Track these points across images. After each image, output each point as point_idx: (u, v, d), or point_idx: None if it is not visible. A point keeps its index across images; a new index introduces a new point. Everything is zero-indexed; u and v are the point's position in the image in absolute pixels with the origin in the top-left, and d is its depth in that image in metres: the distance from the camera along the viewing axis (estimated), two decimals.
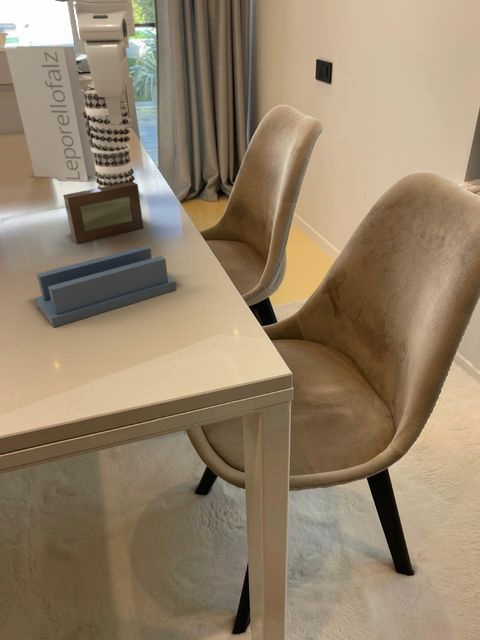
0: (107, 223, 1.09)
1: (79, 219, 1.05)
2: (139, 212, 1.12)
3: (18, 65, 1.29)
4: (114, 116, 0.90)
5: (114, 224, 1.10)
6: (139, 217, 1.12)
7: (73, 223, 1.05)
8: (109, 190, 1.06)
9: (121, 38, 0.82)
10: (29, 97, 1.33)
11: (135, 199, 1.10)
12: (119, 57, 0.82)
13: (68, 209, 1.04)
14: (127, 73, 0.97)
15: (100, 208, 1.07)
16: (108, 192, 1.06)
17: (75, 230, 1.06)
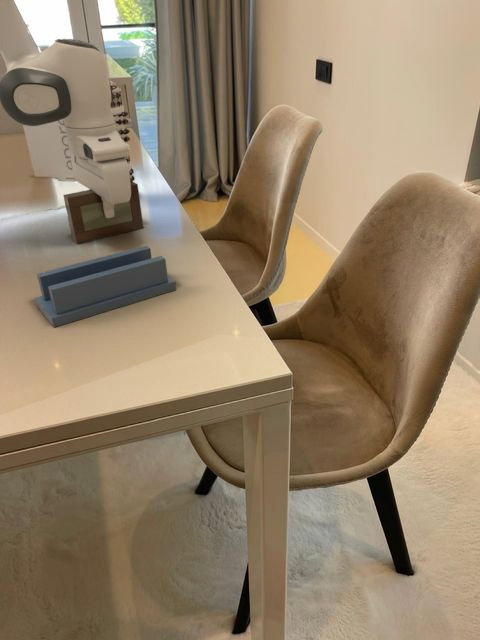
0: (107, 223, 1.09)
1: (79, 219, 1.05)
2: (139, 212, 1.12)
3: None
4: (109, 211, 1.07)
5: (114, 224, 1.10)
6: (139, 217, 1.12)
7: (73, 223, 1.05)
8: None
9: (128, 155, 0.98)
10: None
11: (135, 199, 1.10)
12: (128, 170, 0.99)
13: (68, 209, 1.04)
14: None
15: (100, 208, 1.07)
16: None
17: (75, 230, 1.06)
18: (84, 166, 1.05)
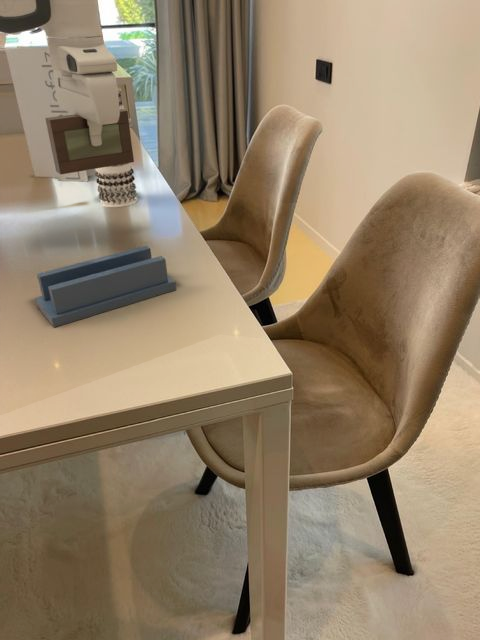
0: (94, 153, 1.00)
1: (63, 146, 0.96)
2: (129, 143, 1.03)
3: (18, 65, 1.29)
4: (95, 138, 0.97)
5: (102, 155, 1.01)
6: (129, 149, 1.03)
7: (56, 150, 0.96)
8: None
9: (116, 69, 0.89)
10: (29, 97, 1.33)
11: (125, 128, 1.01)
12: (117, 87, 0.89)
13: (51, 134, 0.95)
14: None
15: (86, 135, 0.98)
16: None
17: (58, 158, 0.96)
18: (68, 88, 0.96)
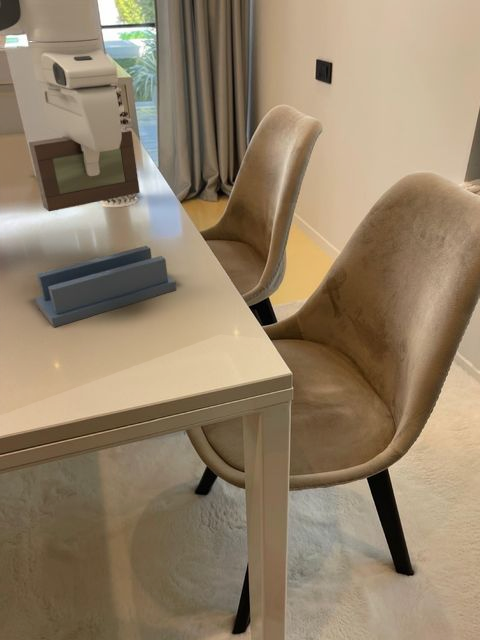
0: (90, 184, 0.81)
1: (51, 176, 0.77)
2: (133, 170, 0.83)
3: (18, 65, 1.29)
4: (92, 167, 0.78)
5: (100, 186, 0.81)
6: (134, 177, 0.84)
7: (43, 182, 0.77)
8: None
9: (116, 82, 0.70)
10: (29, 97, 1.33)
11: (128, 152, 0.82)
12: (117, 104, 0.70)
13: (36, 162, 0.76)
14: None
15: (80, 163, 0.78)
16: None
17: (46, 192, 0.77)
18: (57, 104, 0.77)
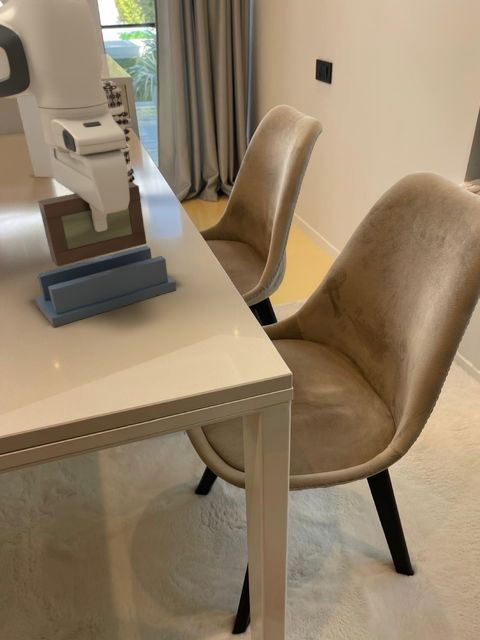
0: (98, 238, 0.82)
1: (60, 233, 0.78)
2: (140, 223, 0.85)
3: None
4: (100, 223, 0.79)
5: (107, 239, 0.83)
6: (141, 229, 0.85)
7: (52, 239, 0.78)
8: None
9: (125, 146, 0.71)
10: (29, 97, 1.33)
11: (135, 206, 0.83)
12: None
13: (45, 220, 0.77)
14: None
15: (88, 219, 0.80)
16: None
17: (55, 248, 0.79)
18: (66, 162, 0.78)
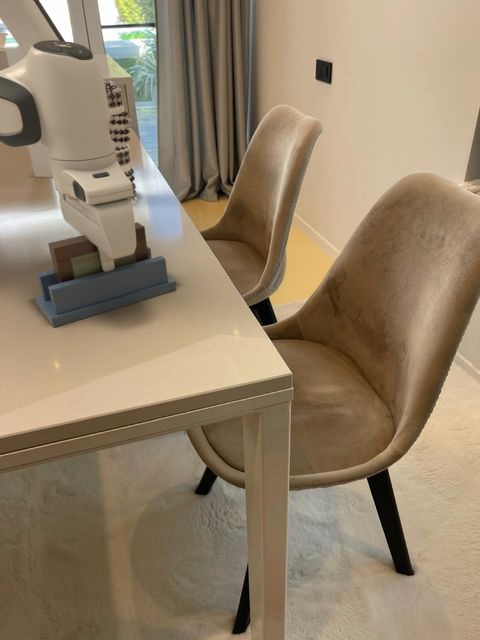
0: None
1: (69, 274, 0.81)
2: None
3: None
4: (107, 264, 0.83)
5: None
6: None
7: (61, 279, 0.81)
8: None
9: (132, 195, 0.74)
10: None
11: (141, 245, 0.86)
12: None
13: (54, 262, 0.80)
14: None
15: (96, 259, 0.83)
16: None
17: None
18: (75, 206, 0.82)
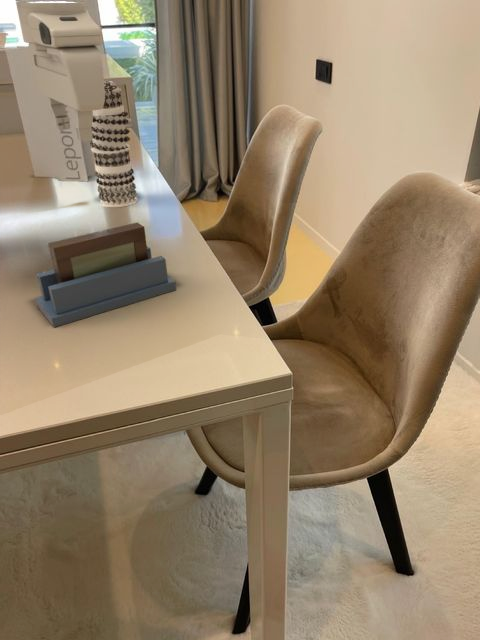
0: None
1: (69, 274, 0.81)
2: None
3: (18, 65, 1.29)
4: (85, 132, 0.78)
5: None
6: None
7: (61, 279, 0.81)
8: (108, 236, 0.82)
9: (100, 43, 0.72)
10: (29, 97, 1.33)
11: (141, 245, 0.86)
12: (101, 65, 0.72)
13: (54, 261, 0.80)
14: None
15: (96, 259, 0.83)
16: (106, 239, 0.82)
17: None
18: (45, 66, 0.79)
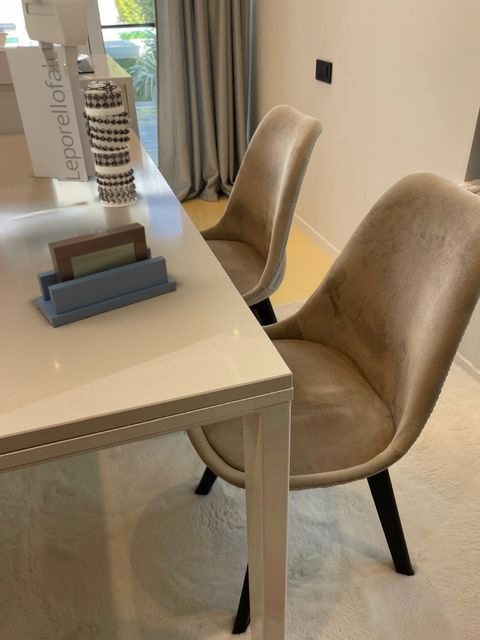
0: None
1: (69, 274, 0.81)
2: None
3: (18, 65, 1.29)
4: (71, 68, 0.90)
5: None
6: None
7: (61, 279, 0.81)
8: (108, 236, 0.82)
9: None
10: (29, 97, 1.33)
11: (141, 245, 0.86)
12: None
13: (54, 261, 0.80)
14: None
15: (96, 259, 0.83)
16: (106, 239, 0.82)
17: None
18: (36, 12, 0.91)
